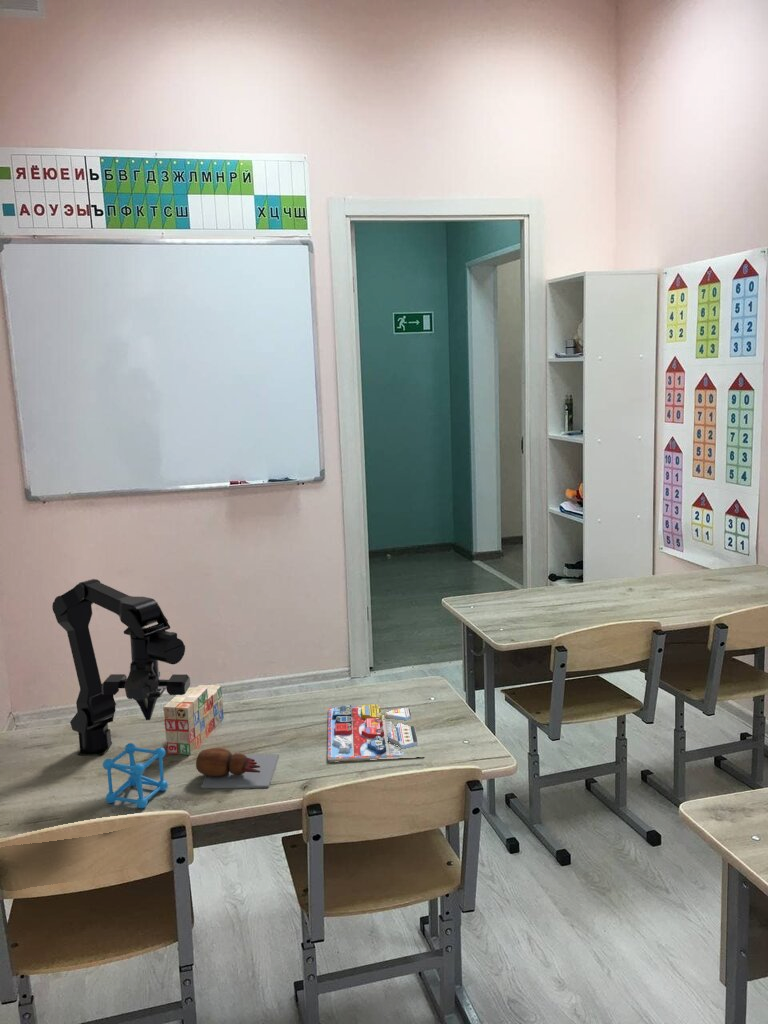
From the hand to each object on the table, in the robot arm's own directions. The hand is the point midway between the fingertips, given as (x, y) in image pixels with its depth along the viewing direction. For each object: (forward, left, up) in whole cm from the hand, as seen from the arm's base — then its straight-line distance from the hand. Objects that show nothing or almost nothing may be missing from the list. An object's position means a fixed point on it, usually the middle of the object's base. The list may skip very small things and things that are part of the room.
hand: (148, 719), depth 191 cm
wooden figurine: (+11, -3, -9) cm, 15 cm away
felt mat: (+21, -1, -13) cm, 24 cm away
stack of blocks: (+6, +19, -13) cm, 23 cm away
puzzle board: (+50, +19, -13) cm, 56 cm away
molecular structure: (0, -12, -13) cm, 17 cm away
